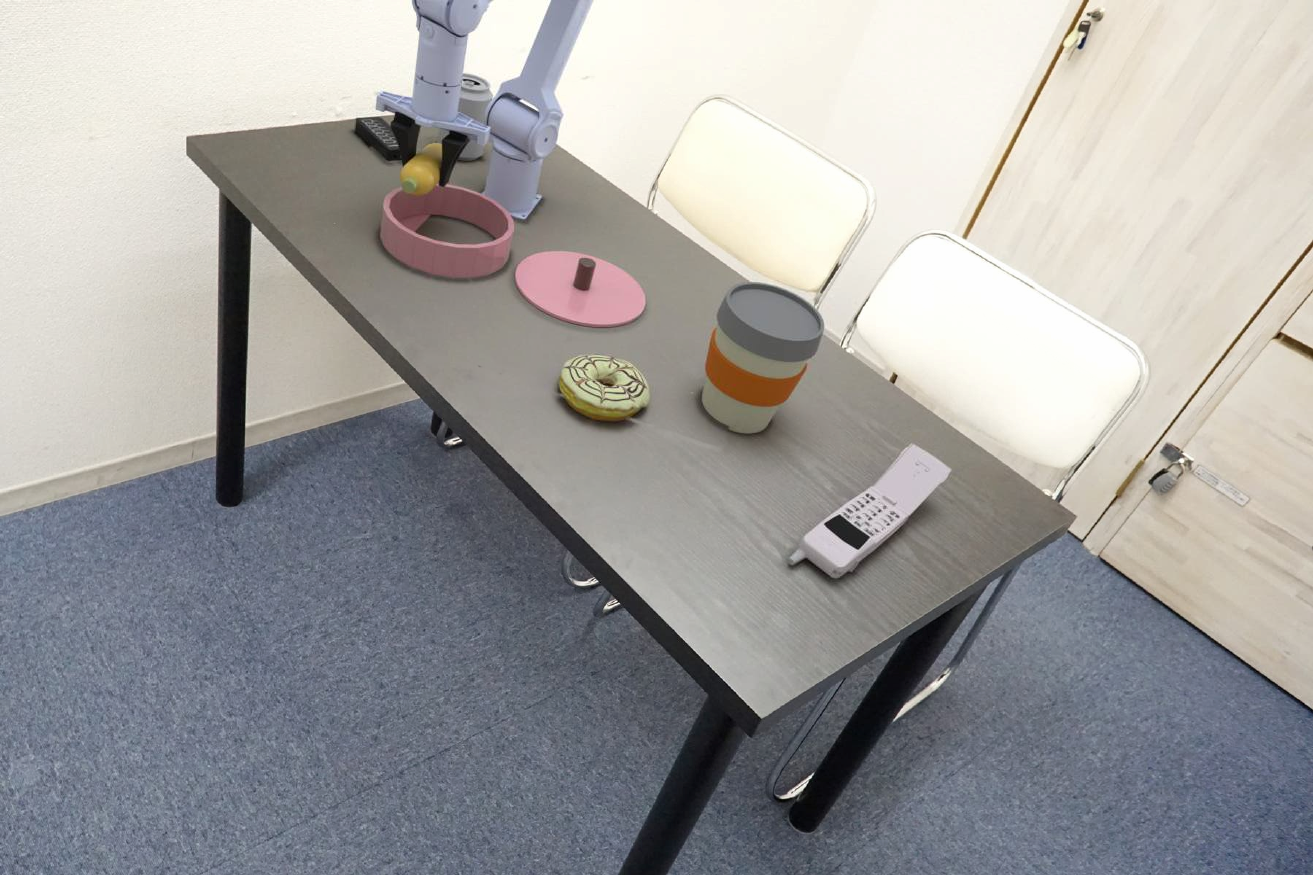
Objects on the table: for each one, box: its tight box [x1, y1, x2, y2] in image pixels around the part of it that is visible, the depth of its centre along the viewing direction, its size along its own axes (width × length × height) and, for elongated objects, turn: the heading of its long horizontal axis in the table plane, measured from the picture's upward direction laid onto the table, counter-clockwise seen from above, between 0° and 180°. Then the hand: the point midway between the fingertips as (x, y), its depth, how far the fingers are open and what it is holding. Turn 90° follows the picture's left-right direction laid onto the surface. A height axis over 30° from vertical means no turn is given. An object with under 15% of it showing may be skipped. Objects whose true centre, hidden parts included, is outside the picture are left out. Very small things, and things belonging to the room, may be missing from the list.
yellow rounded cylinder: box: [399, 142, 442, 196], centre depth 125 cm, size 12×4×4 cm, turn 170°
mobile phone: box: [787, 442, 952, 579], centre depth 106 cm, size 6×6×25 cm
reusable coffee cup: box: [701, 281, 825, 435], centre depth 115 cm, size 13×12×15 cm
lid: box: [514, 250, 647, 328], centre depth 130 cm, size 18×18×5 cm
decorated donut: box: [558, 353, 651, 422], centre depth 112 cm, size 10×11×4 cm
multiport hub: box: [354, 116, 402, 162], centre depth 148 cm, size 4×11×2 cm, turn 41°
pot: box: [379, 183, 515, 279], centre depth 129 cm, size 17×17×5 cm
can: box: [436, 72, 494, 162], centre depth 151 cm, size 8×8×12 cm
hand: (425, 177), depth 127 cm, fingers closed on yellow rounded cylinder, 4 cm apart
